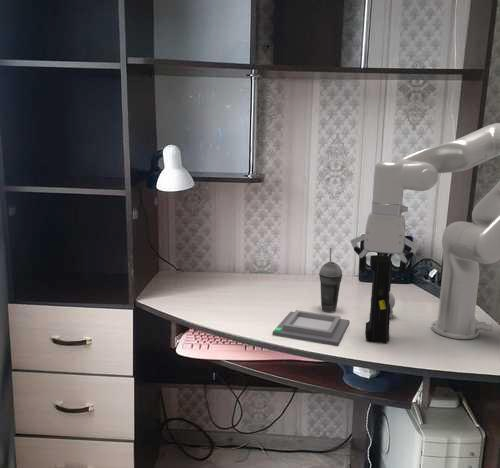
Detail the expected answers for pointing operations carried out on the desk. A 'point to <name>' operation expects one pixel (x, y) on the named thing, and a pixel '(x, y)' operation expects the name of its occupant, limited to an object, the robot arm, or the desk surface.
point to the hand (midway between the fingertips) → (381, 273)
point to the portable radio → (379, 300)
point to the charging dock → (312, 327)
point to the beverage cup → (330, 285)
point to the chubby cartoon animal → (391, 303)
